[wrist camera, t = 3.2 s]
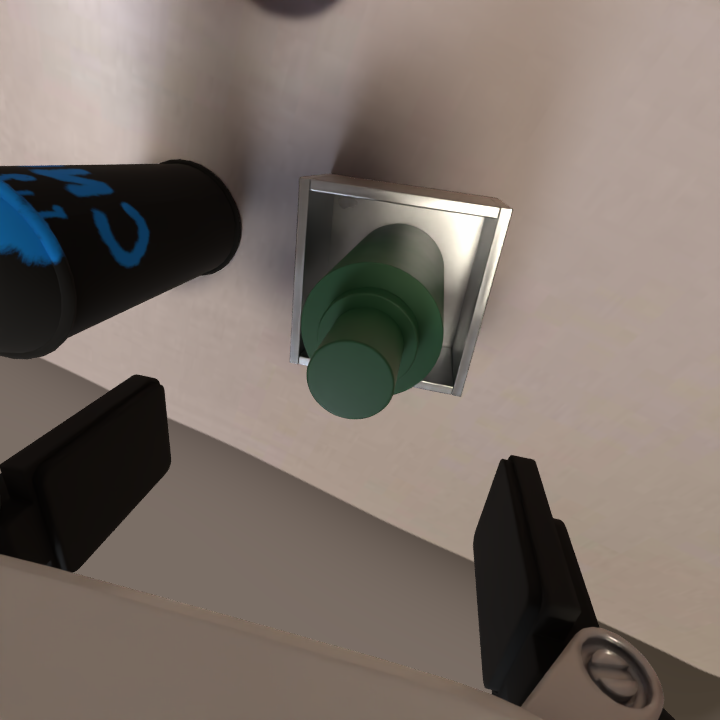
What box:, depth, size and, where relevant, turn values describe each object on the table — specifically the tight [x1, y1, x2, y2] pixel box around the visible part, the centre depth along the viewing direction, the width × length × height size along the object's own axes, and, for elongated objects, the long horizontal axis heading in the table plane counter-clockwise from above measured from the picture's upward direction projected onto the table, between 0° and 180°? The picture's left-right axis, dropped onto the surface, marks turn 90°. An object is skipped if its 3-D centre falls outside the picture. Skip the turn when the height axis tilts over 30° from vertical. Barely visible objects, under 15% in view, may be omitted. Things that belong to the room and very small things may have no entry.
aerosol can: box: [0, 159, 240, 359], centre depth 22 cm, size 8×8×20 cm
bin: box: [290, 174, 513, 397], centre depth 27 cm, size 11×11×7 cm
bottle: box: [301, 223, 444, 419], centre depth 22 cm, size 6×6×16 cm
